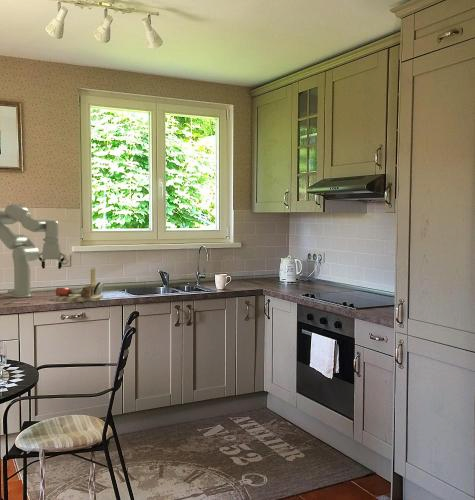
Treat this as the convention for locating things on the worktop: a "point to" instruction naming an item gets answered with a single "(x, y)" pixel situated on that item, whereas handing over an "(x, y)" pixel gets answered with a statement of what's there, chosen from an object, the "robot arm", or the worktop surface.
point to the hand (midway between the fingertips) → (51, 268)
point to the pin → (66, 291)
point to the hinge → (98, 288)
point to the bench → (78, 298)
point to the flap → (92, 277)
